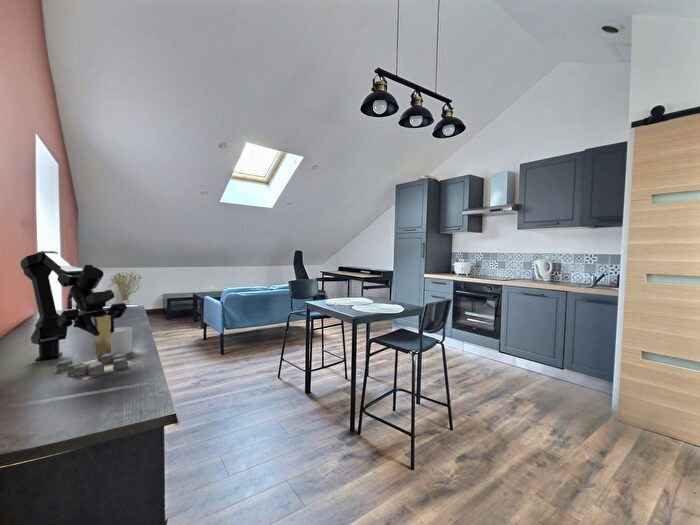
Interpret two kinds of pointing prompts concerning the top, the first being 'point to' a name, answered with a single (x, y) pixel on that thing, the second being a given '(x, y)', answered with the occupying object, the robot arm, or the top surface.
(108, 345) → the brass post
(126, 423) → the top surface
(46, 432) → the top surface
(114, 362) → the spacer board
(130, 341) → the white cup
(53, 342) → the robot arm
